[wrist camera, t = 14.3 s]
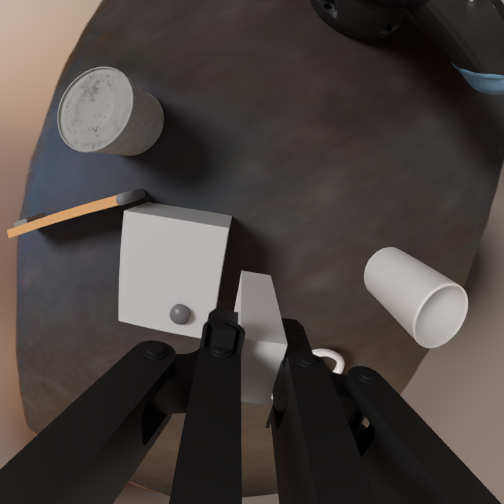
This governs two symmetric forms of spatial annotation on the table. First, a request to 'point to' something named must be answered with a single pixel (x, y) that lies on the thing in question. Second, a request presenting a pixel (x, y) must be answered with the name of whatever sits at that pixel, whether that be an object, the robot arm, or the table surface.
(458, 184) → the table surface
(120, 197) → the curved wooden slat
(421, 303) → the cup
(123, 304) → the knobbed white cabinet
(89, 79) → the grey mottled cylinder
